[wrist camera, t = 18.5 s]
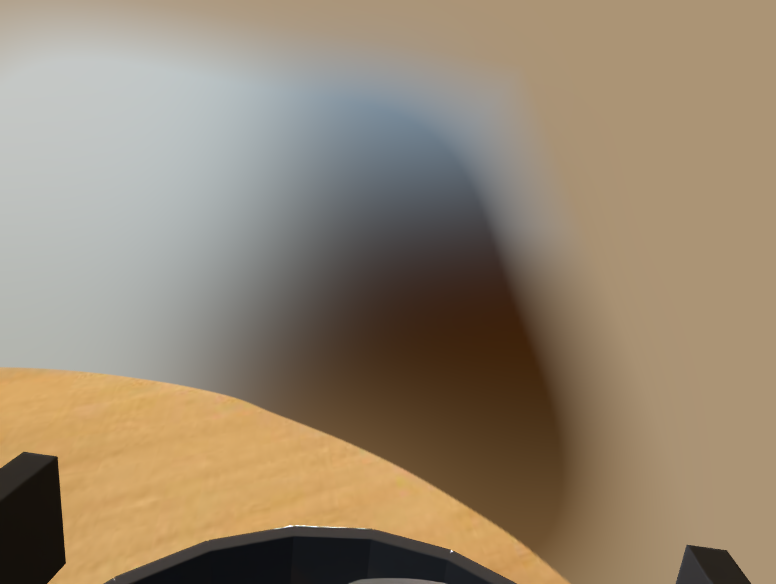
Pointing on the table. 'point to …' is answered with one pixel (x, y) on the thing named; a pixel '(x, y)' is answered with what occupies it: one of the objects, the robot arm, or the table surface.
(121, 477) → the table surface
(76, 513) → the table surface
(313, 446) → the table surface
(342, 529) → the dark grey dish
